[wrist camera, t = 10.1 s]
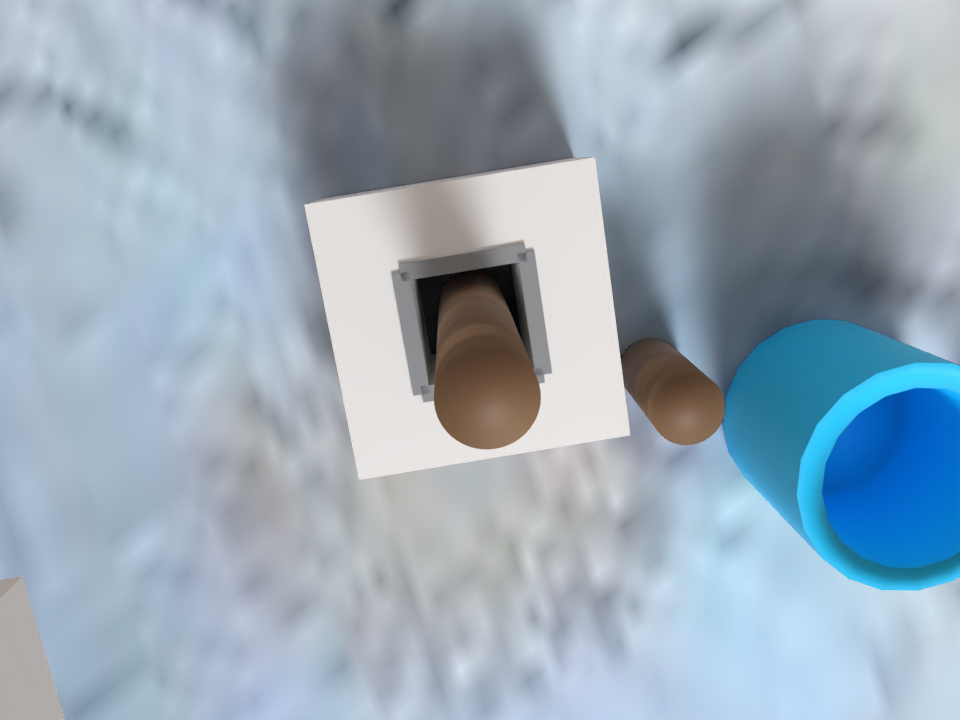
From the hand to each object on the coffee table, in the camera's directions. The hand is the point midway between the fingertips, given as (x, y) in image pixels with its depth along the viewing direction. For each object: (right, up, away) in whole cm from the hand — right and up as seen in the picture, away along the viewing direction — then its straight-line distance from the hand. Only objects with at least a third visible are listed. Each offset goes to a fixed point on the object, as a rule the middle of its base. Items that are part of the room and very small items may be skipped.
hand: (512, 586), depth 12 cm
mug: (+16, +1, +26) cm, 30 cm away
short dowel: (+7, +3, +25) cm, 26 cm away
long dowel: (-1, +5, +24) cm, 25 cm away
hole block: (-1, +5, +24) cm, 25 cm away
